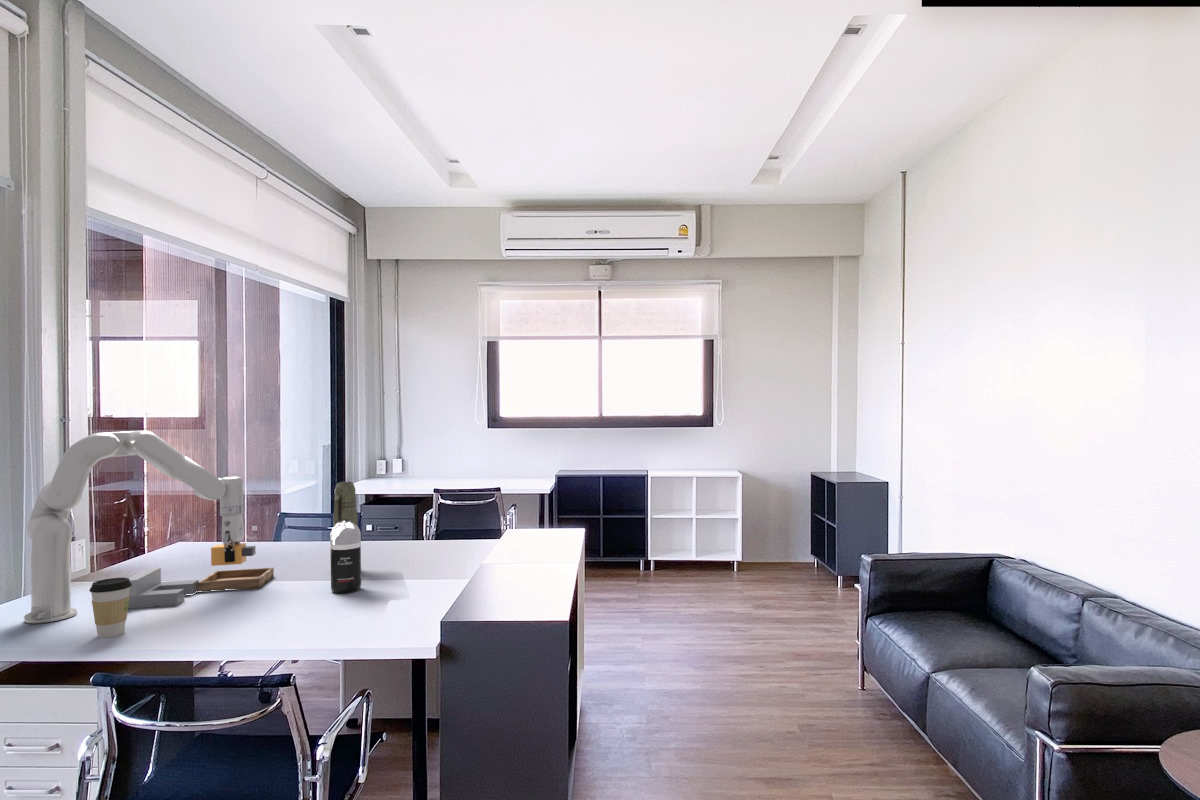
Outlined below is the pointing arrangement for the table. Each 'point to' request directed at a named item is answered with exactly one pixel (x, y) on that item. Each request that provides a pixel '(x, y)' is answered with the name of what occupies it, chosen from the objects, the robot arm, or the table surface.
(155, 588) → the dock
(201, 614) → the table surface
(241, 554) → the orange wooden block
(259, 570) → the tray
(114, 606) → the coffee cup
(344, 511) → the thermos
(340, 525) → the spray bottle
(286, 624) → the table surface
